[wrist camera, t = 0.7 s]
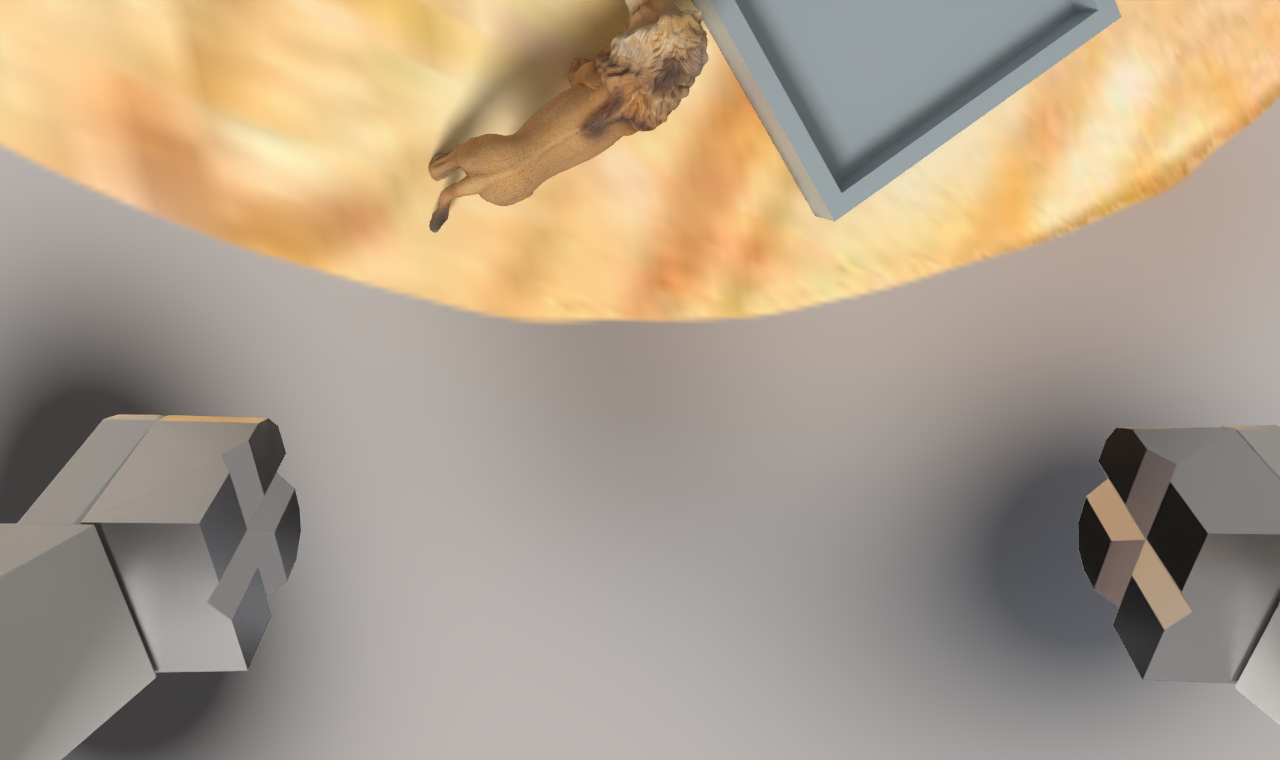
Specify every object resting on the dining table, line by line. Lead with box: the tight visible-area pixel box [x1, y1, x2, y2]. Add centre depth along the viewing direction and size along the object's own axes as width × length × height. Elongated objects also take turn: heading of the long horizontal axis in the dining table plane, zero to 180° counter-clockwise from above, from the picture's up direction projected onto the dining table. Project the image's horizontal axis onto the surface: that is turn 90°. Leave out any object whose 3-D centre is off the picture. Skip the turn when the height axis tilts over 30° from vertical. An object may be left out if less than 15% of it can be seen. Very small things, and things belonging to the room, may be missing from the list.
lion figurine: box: [429, 0, 708, 233], centre depth 42 cm, size 15×5×9 cm, turn 131°
